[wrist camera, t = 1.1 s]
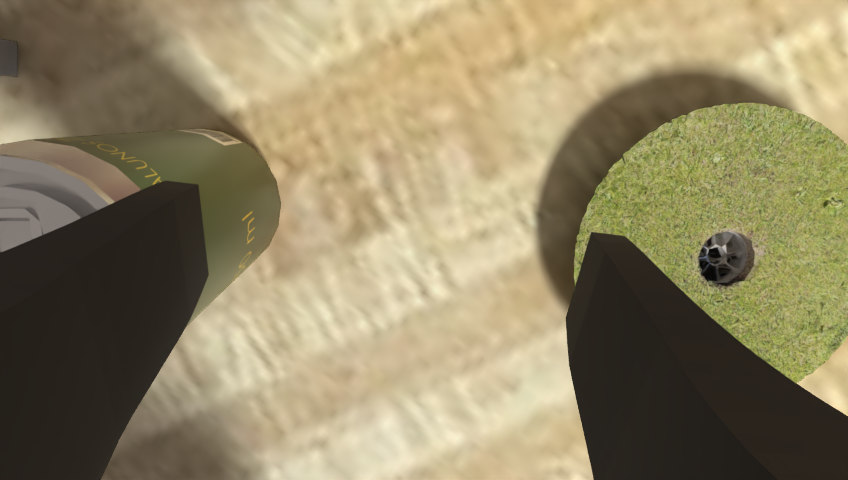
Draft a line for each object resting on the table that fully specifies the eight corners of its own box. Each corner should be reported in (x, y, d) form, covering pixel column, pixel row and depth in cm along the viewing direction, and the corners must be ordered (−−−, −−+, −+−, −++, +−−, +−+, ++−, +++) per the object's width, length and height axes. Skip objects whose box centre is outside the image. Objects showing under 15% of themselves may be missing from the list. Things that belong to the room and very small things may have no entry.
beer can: (133, 127, 23) (-161, 141, 11) (281, 127, 23) (149, 142, 11) (146, 270, 24) (-109, 424, 12) (287, 269, 24) (173, 420, 12)
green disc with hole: (902, 264, 25) (944, 277, 23) (674, 438, 26) (695, 463, 24) (740, 38, 23) (770, 31, 21) (502, 237, 24) (511, 248, 22)
